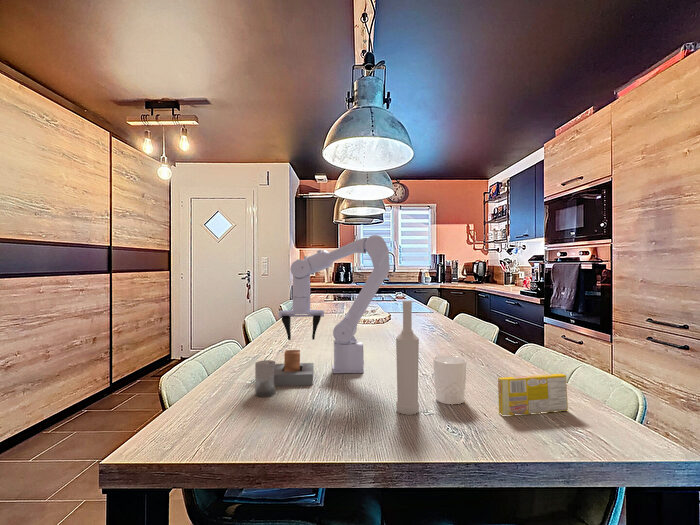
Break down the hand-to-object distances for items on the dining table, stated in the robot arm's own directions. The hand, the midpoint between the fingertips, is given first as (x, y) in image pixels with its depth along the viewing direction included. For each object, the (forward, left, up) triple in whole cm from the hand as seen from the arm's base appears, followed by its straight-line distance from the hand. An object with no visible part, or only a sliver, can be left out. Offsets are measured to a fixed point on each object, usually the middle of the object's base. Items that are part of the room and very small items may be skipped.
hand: (301, 339), depth 118 cm
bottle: (-26, +37, -10) cm, 46 cm away
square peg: (+2, +11, -9) cm, 15 cm away
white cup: (-38, +31, -10) cm, 50 cm away
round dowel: (+8, +23, -9) cm, 26 cm away
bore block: (+2, +11, -9) cm, 15 cm away
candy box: (-54, +40, -10) cm, 68 cm away
